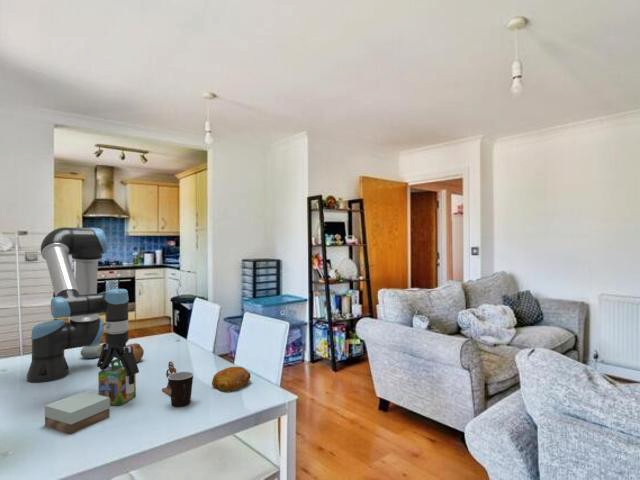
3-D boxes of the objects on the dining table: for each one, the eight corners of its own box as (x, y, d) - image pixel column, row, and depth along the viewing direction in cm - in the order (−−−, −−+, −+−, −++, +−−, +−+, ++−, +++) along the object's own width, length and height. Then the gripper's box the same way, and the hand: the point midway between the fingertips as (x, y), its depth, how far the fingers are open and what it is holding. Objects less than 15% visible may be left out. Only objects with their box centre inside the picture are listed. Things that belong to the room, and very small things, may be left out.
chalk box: (120, 406, 141) (119, 364, 141) (97, 404, 143) (97, 363, 143) (137, 396, 150) (136, 356, 150) (115, 394, 152) (115, 355, 152)
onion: (141, 367, 193) (150, 349, 193) (123, 367, 186) (133, 348, 186) (132, 357, 199) (141, 339, 199) (114, 356, 191) (124, 337, 191)
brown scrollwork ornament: (161, 390, 156) (161, 360, 155) (171, 388, 158) (171, 358, 158) (171, 397, 149) (170, 365, 149) (181, 394, 152) (181, 362, 152)
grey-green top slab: (44, 416, 127) (44, 405, 127) (84, 401, 139) (84, 391, 138) (70, 424, 121) (70, 413, 121) (109, 408, 133) (109, 397, 133)
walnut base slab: (45, 427, 127) (44, 416, 127) (85, 411, 139) (85, 401, 139) (69, 436, 121) (69, 424, 121) (109, 419, 133) (109, 408, 133)
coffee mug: (172, 399, 147) (171, 372, 147) (196, 398, 148) (195, 371, 148) (162, 412, 136) (162, 383, 136) (188, 411, 136) (188, 382, 136)
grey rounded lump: (95, 360, 196) (94, 339, 196) (78, 360, 196) (78, 339, 196) (107, 353, 207) (107, 334, 207) (91, 353, 207) (91, 334, 207)
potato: (255, 387, 165) (257, 367, 166) (232, 395, 151) (234, 373, 152) (227, 381, 171) (229, 361, 172) (202, 388, 157) (205, 367, 158)
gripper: (86, 330, 149) (86, 387, 149) (130, 337, 138) (131, 399, 138) (105, 326, 156) (105, 381, 156) (149, 333, 144) (149, 391, 144)
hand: (117, 389), depth 147 cm, fingers open, 13 cm apart
